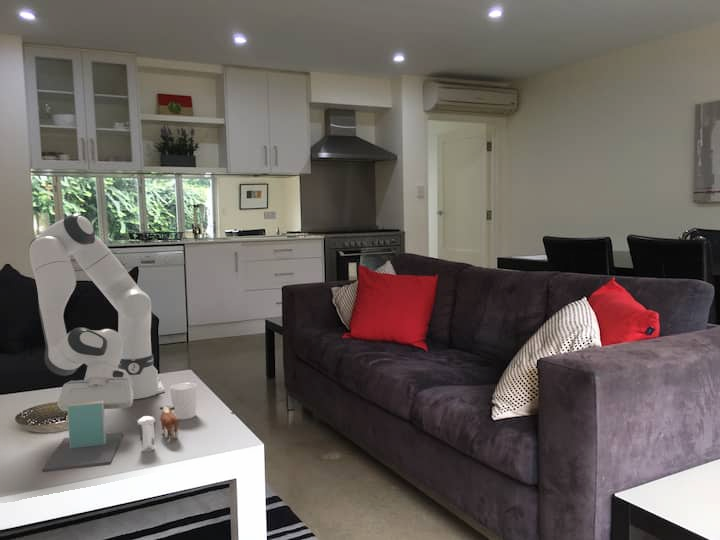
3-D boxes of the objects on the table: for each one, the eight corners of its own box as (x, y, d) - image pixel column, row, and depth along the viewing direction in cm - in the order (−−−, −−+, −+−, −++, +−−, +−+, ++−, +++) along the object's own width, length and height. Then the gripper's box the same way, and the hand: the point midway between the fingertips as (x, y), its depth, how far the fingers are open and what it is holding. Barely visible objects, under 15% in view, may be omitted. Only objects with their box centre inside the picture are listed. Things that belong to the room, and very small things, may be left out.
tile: (71, 445, 161) (68, 403, 160) (106, 442, 164) (103, 400, 163) (69, 448, 159) (67, 406, 158) (105, 444, 162) (102, 402, 161)
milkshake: (133, 450, 159) (131, 414, 158) (153, 445, 162) (151, 410, 161) (138, 455, 155) (136, 418, 155) (159, 449, 159) (157, 414, 158)
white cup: (190, 421, 181) (188, 389, 181) (167, 419, 183) (165, 388, 182) (202, 412, 189) (200, 382, 188) (179, 411, 191) (178, 382, 190)
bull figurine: (174, 427, 176) (173, 401, 175) (181, 442, 164) (179, 414, 163) (159, 430, 174) (157, 403, 173) (164, 445, 162) (163, 417, 161)
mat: (64, 440, 167) (64, 438, 167) (123, 434, 171) (123, 432, 171) (42, 471, 146) (42, 469, 146) (110, 463, 150) (110, 461, 150)
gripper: (60, 375, 170) (48, 419, 161) (133, 372, 172) (125, 415, 163) (67, 386, 175) (56, 429, 166) (137, 382, 177) (130, 425, 168)
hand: (91, 422), depth 165 cm, fingers closed
